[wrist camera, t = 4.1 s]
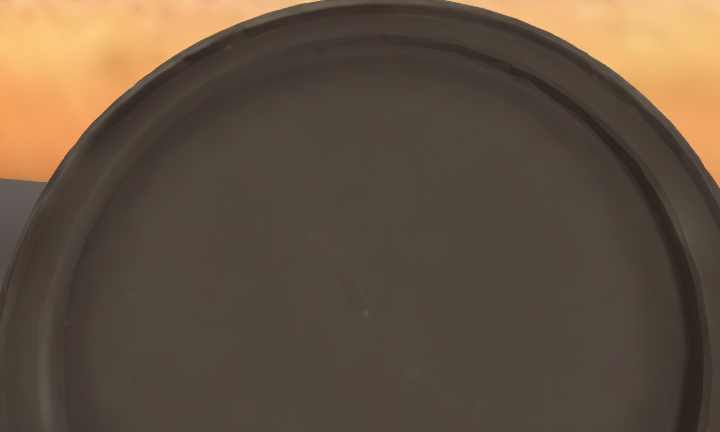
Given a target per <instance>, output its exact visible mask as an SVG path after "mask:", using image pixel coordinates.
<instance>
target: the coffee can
mask: <svg viewBox="0 0 720 432" xmlns="http://www.w3.org/2000/svg"><path fill="white" fill-rule="evenodd" d="M0 432H720V189H719V187H718V185H717V183H716V182H715V180H714V179H713V177H712V176H711V175H710V173H709V172H708V171H707V169H706V168H705V167H704V165H703V163H702V162H701V160H700V158H699V157H698V155H697V154H696V153H695V151H694V150H693V149H692V148H691V146H690V145H689V144H688V142H687V141H686V140H685V139H684V137H683V136H682V135H681V134H680V132H679V131H678V130H677V129H676V127H675V126H674V125H673V124H672V123H671V122H670V121H669V120H668V119H667V118H666V117H665V116H664V115H663V114H662V113H661V112H660V111H659V110H658V109H657V108H656V107H655V106H654V105H653V104H652V103H651V102H650V101H649V100H648V99H647V98H646V97H645V96H644V95H643V94H641V93H640V92H639V91H638V90H637V89H636V88H635V87H633V86H632V85H631V84H630V83H628V82H627V81H626V80H625V79H623V78H622V77H621V76H620V75H618V74H617V73H616V72H614V71H613V70H612V69H610V68H609V67H607V66H606V65H604V64H603V63H601V62H600V61H598V60H596V59H594V58H593V57H591V56H590V55H589V54H587V53H586V52H584V51H582V50H580V49H578V48H577V47H575V46H573V45H572V44H570V43H569V42H567V41H565V40H563V39H561V38H559V37H557V36H555V35H553V34H552V33H550V32H547V31H545V30H542V29H540V28H537V27H535V26H532V25H530V24H528V23H525V22H523V21H521V20H518V19H516V18H512V17H509V16H506V15H502V14H499V13H496V12H493V11H490V10H487V9H484V8H479V7H475V6H470V5H466V4H461V3H456V2H451V1H446V0H323V1H317V2H310V3H304V4H299V5H295V6H291V7H288V8H284V9H281V10H277V11H273V12H270V13H266V14H264V15H261V16H258V17H255V18H252V19H250V20H247V21H244V22H241V23H239V24H236V25H234V26H232V27H229V28H227V29H225V30H222V31H220V32H218V33H216V34H214V35H212V36H210V37H207V38H205V39H203V40H201V41H199V42H197V43H196V44H194V45H192V46H190V47H189V48H187V49H185V50H183V51H182V52H180V53H178V54H177V55H175V56H173V57H172V58H170V59H169V60H167V61H166V62H164V63H163V64H161V65H160V66H159V67H157V68H156V69H155V70H154V71H152V72H151V73H150V74H148V75H146V76H145V77H144V78H142V79H141V80H140V81H138V82H137V83H136V84H135V85H134V86H133V87H132V88H130V89H129V90H128V91H126V92H125V93H124V94H123V95H122V96H120V97H119V98H118V99H117V100H116V101H115V102H113V103H112V104H111V105H110V106H109V107H108V108H107V109H106V110H105V111H104V112H103V113H102V114H101V115H100V116H99V117H98V118H97V119H96V120H95V121H94V122H93V123H92V124H91V125H90V126H89V127H88V128H87V130H86V131H85V132H84V133H83V134H82V136H81V137H80V138H79V140H78V141H77V143H76V144H75V145H74V146H73V147H72V148H71V149H70V150H69V152H68V153H67V155H66V156H65V157H64V159H63V160H62V161H61V163H60V164H59V166H58V168H57V169H56V171H55V172H54V174H53V175H52V177H51V178H50V180H49V182H48V183H47V185H46V186H45V188H44V189H43V191H42V193H41V195H40V196H39V198H38V200H37V202H36V204H35V206H34V208H33V209H32V211H31V213H30V216H29V218H28V220H27V222H26V224H25V226H24V228H23V231H22V233H21V235H20V237H19V239H18V241H17V243H16V246H15V249H14V251H13V254H12V257H11V260H10V263H9V266H8V269H7V271H6V274H5V277H4V280H3V284H2V289H1V293H0Z"/></svg>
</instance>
